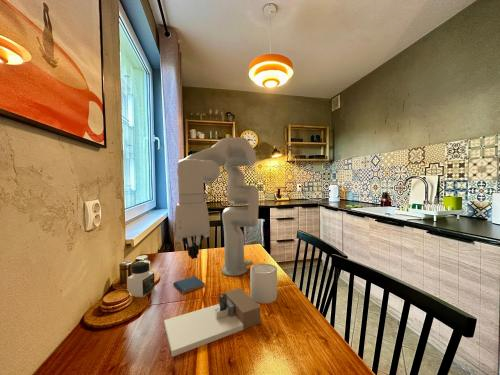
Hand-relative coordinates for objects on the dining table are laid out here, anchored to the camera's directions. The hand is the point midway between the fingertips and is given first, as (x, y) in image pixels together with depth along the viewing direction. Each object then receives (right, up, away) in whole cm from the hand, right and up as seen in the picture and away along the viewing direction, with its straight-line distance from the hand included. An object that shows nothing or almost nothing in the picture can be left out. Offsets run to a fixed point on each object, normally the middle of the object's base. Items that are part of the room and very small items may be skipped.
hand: (193, 257), depth 68 cm
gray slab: (+6, -20, -2) cm, 21 cm away
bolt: (+12, -18, +2) cm, 22 cm away
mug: (+23, -20, +16) cm, 34 cm away
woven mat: (-8, -20, +24) cm, 32 cm away
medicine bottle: (-26, -20, +18) cm, 37 cm away
